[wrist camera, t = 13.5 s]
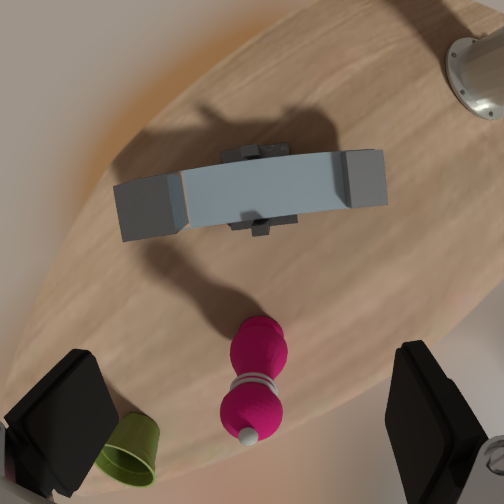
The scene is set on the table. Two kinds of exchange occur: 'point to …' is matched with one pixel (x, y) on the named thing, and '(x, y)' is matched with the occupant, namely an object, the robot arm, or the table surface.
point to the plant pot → (131, 452)
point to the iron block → (151, 207)
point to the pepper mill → (255, 381)
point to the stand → (252, 153)
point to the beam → (283, 186)
